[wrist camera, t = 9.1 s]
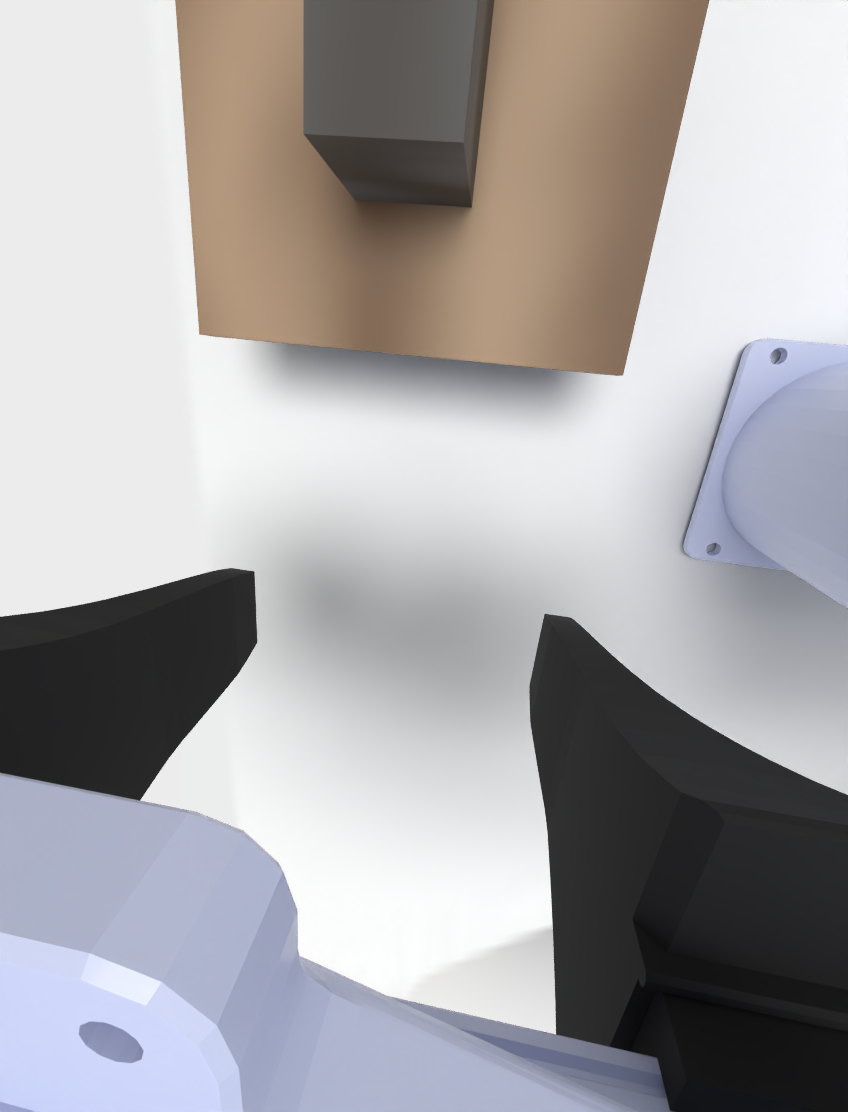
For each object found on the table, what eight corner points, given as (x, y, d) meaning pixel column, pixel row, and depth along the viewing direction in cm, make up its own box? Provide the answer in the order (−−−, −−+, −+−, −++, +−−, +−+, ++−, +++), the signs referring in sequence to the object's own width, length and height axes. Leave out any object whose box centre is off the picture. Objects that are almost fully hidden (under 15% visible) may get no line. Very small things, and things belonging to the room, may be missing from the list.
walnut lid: (767, -297, 9) (984, -832, 5) (615, 375, 13) (667, 374, 9) (176, -277, 10) (-30, -701, 6) (214, 336, 14) (108, 320, 11)
